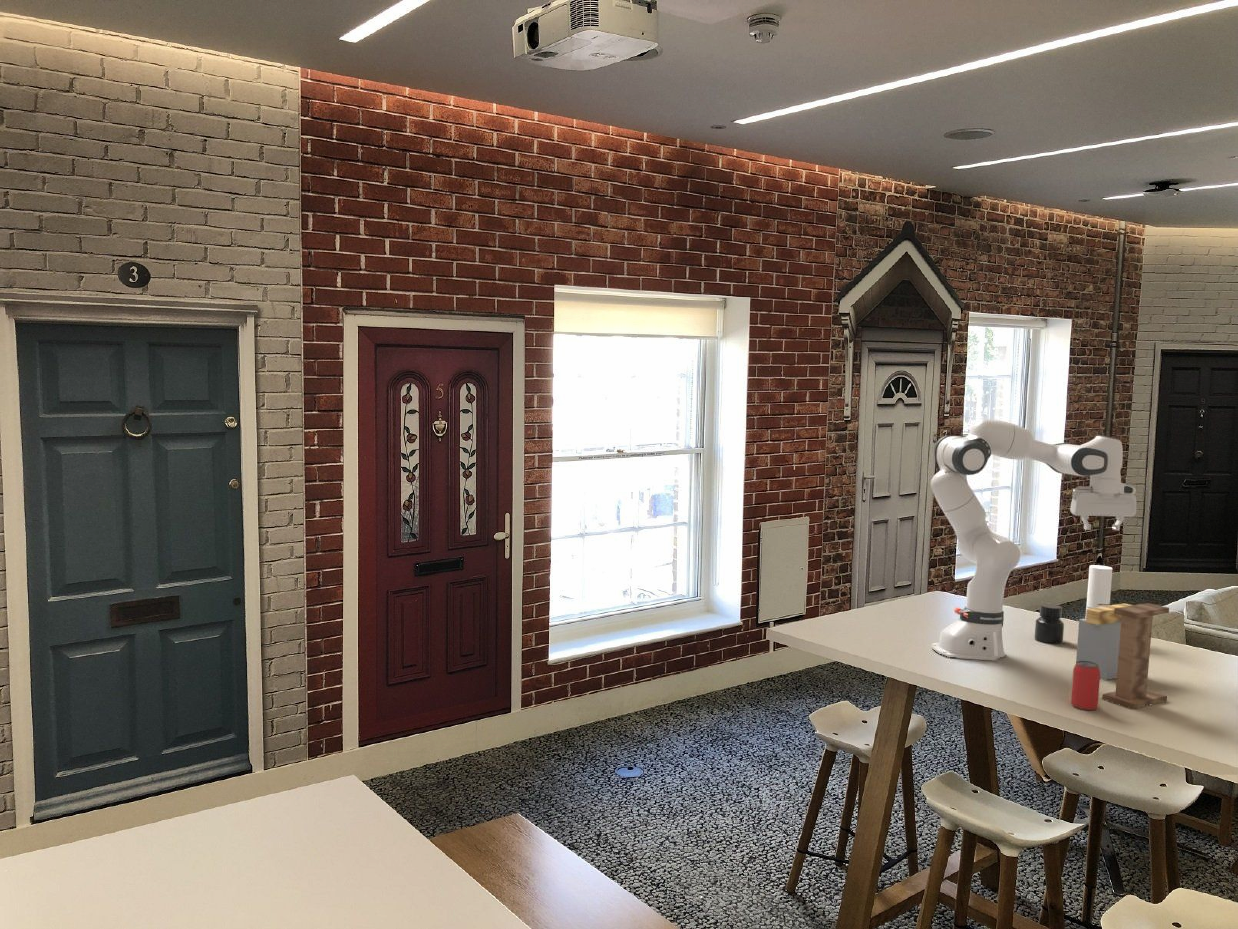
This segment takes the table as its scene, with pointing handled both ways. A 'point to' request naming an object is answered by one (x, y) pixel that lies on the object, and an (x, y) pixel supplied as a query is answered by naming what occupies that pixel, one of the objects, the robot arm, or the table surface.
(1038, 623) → the ink bottle
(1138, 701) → the stand
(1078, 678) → the beer can
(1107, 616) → the bar
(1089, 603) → the cylindrical container
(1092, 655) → the ledge block
